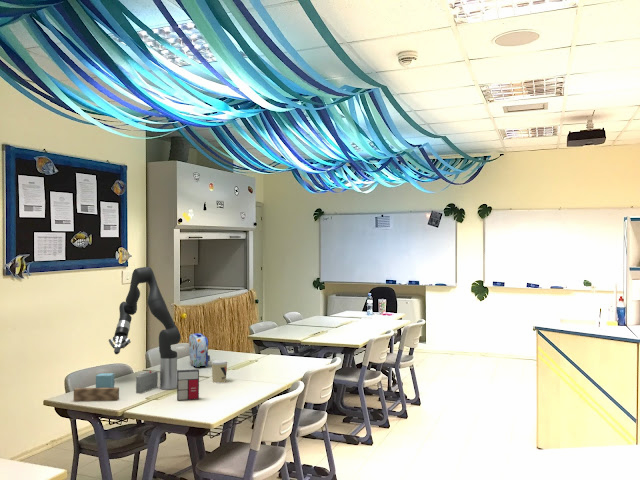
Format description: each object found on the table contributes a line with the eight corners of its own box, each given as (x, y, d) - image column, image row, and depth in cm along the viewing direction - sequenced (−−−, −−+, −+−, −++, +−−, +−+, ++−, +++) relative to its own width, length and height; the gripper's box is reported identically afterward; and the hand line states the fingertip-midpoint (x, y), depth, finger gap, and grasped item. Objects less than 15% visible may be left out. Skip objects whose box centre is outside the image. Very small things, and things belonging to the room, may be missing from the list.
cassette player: (153, 386, 312) (153, 369, 312) (157, 387, 311) (157, 369, 312) (136, 393, 297) (136, 374, 298) (140, 393, 297) (140, 375, 297)
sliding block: (114, 389, 300) (114, 373, 300) (110, 392, 294) (111, 375, 294) (99, 389, 300) (99, 373, 300) (95, 392, 294) (95, 375, 294)
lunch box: (211, 368, 361) (211, 335, 362) (195, 369, 357) (195, 336, 357) (201, 360, 386) (202, 329, 387) (187, 362, 382) (187, 330, 382)
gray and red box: (177, 401, 282) (177, 371, 282) (177, 398, 286) (177, 370, 286) (198, 399, 285) (199, 370, 285) (198, 397, 289) (198, 369, 289)
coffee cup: (223, 383, 320) (223, 363, 320) (208, 382, 322) (208, 362, 322) (229, 380, 329) (229, 360, 329) (214, 379, 331) (215, 359, 331)
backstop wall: (128, 390, 304) (128, 379, 304) (117, 400, 282) (117, 388, 282) (88, 390, 302) (88, 379, 302) (73, 401, 281) (73, 389, 281)
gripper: (110, 325, 326) (103, 349, 314) (132, 325, 327) (126, 349, 315) (112, 333, 332) (106, 357, 319) (134, 333, 333) (129, 357, 320)
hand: (116, 353), depth 317 cm, fingers closed
